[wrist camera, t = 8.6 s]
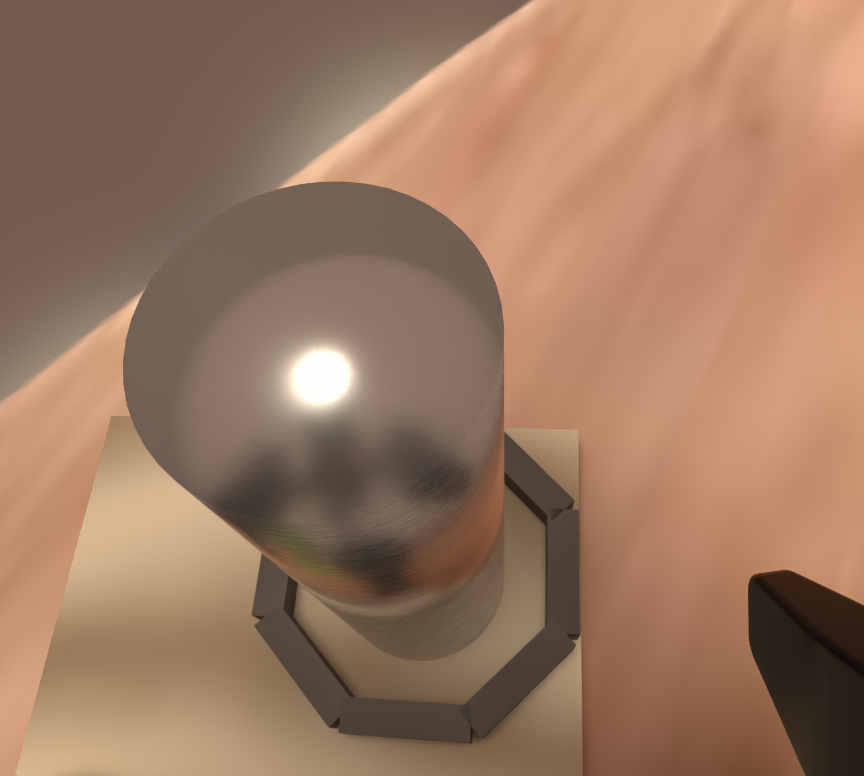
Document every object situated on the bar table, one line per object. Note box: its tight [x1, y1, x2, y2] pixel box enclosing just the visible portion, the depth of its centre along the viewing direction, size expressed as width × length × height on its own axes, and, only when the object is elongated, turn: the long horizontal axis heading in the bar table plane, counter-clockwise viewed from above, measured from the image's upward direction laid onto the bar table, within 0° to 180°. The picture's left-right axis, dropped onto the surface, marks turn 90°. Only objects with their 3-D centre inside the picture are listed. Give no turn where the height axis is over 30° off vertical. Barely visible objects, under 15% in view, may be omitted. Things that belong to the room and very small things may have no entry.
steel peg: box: [123, 182, 505, 661], centre depth 15 cm, size 4×4×13 cm
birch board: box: [15, 416, 583, 776], centre depth 19 cm, size 15×14×2 cm
